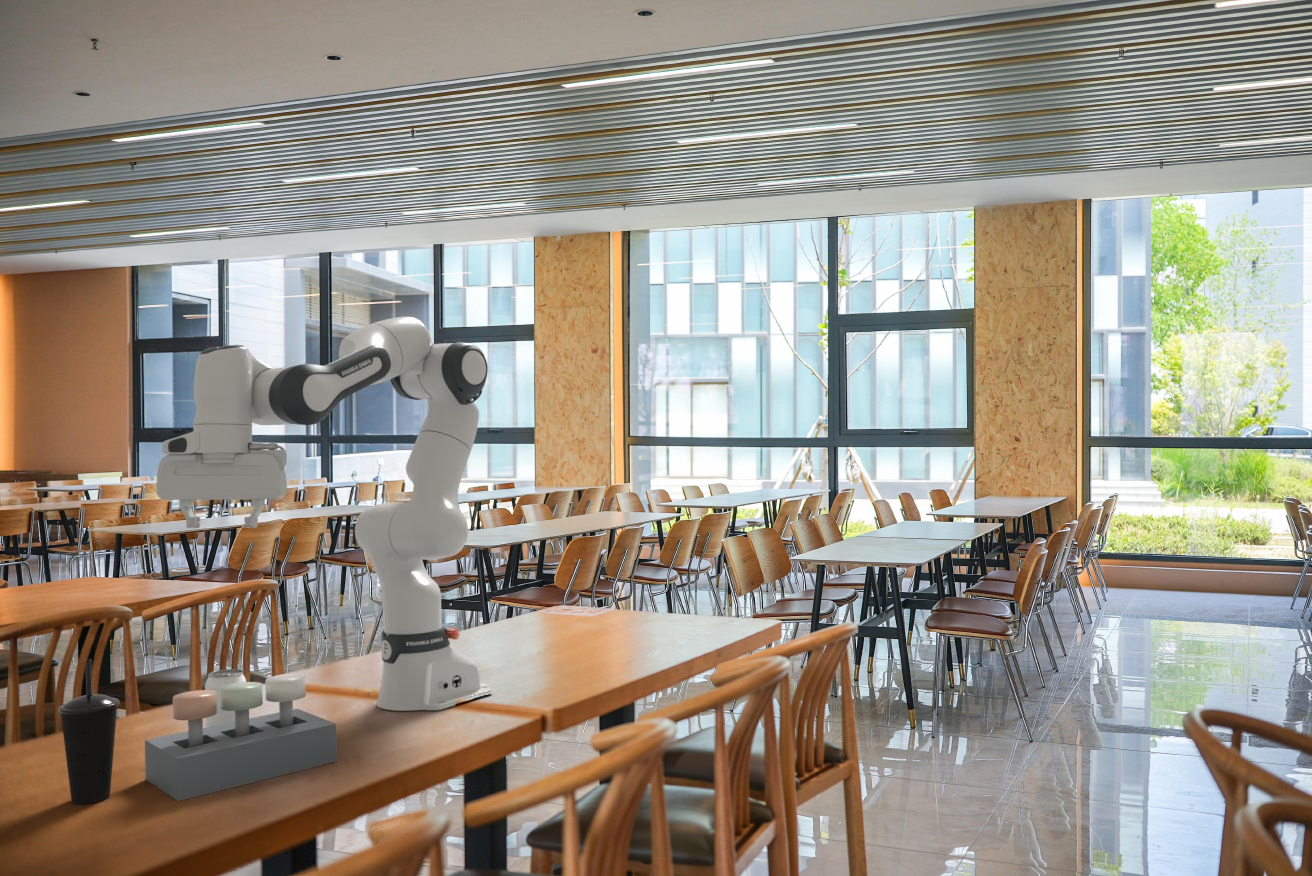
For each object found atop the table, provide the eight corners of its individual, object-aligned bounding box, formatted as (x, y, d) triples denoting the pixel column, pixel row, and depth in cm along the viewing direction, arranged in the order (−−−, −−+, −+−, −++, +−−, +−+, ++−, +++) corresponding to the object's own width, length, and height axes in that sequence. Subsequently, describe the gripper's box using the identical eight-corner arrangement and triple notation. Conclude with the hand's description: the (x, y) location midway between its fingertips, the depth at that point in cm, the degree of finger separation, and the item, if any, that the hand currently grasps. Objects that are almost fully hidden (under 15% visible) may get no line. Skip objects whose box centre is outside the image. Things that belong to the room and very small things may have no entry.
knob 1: (208, 743, 155) (207, 688, 155) (223, 750, 151) (222, 694, 151) (167, 751, 151) (166, 695, 151) (182, 760, 147) (181, 701, 147)
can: (232, 749, 167) (230, 677, 167) (197, 748, 168) (196, 676, 168) (255, 738, 173) (253, 668, 173) (221, 737, 174) (220, 668, 175)
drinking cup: (56, 811, 139) (53, 667, 139) (64, 794, 146) (61, 657, 146) (118, 802, 142) (115, 661, 142) (123, 786, 149) (120, 652, 149)
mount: (298, 744, 169) (297, 708, 169) (336, 761, 159) (336, 723, 159) (145, 779, 152) (144, 739, 152) (177, 800, 142) (177, 758, 142)
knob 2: (296, 724, 165) (295, 672, 165) (312, 730, 161) (311, 677, 161) (260, 732, 161) (259, 678, 161) (276, 739, 156) (274, 684, 156)
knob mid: (254, 733, 160) (253, 680, 160) (269, 740, 156) (268, 685, 156) (215, 741, 156) (214, 686, 156) (230, 749, 151) (229, 692, 152)
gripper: (293, 443, 167) (292, 526, 166) (171, 444, 167) (170, 527, 166) (279, 442, 161) (278, 528, 160) (151, 443, 161) (150, 529, 160)
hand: (222, 528), depth 163 cm, fingers open, 8 cm apart
